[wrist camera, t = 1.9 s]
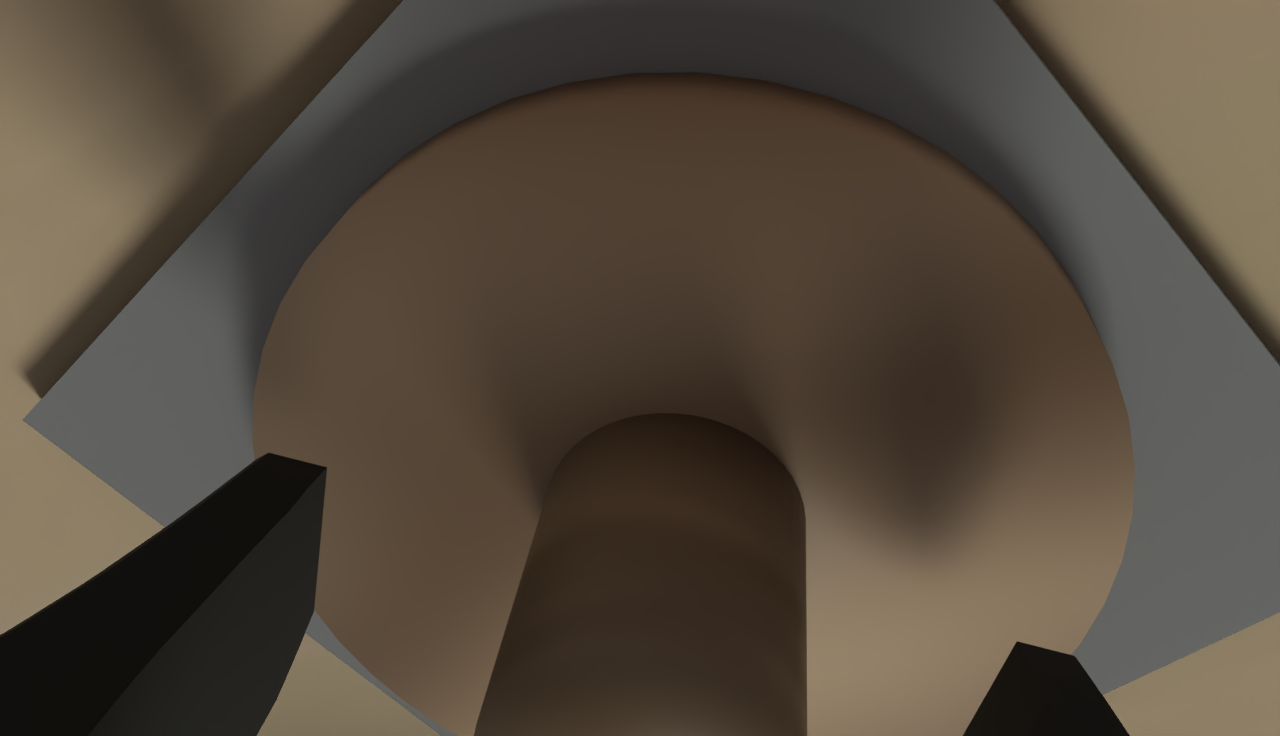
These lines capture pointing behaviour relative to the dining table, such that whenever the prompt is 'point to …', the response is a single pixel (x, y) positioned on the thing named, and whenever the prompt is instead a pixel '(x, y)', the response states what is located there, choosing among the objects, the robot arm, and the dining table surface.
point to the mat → (789, 55)
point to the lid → (696, 421)
